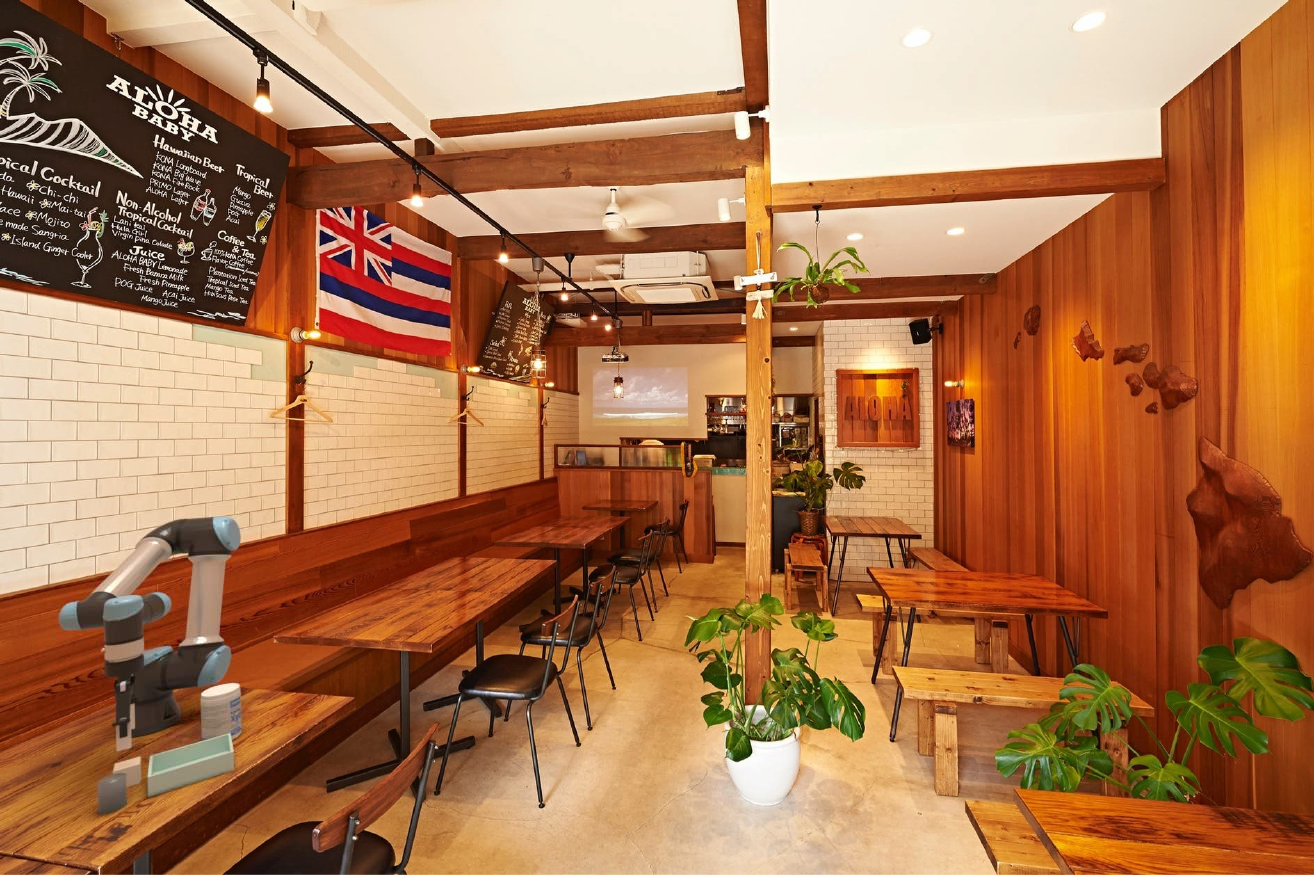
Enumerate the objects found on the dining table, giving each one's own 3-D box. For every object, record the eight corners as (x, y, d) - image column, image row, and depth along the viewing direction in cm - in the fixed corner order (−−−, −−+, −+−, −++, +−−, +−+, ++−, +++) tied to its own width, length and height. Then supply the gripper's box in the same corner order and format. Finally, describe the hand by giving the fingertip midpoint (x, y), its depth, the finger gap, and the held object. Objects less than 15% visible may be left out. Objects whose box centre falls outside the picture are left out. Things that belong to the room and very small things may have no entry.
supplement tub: (240, 740, 168) (239, 690, 168) (199, 751, 163) (198, 699, 163) (242, 727, 176) (241, 679, 176) (203, 737, 171) (202, 688, 171)
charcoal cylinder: (99, 807, 138) (98, 778, 138) (127, 798, 141) (126, 770, 141) (97, 817, 134) (96, 787, 134) (126, 808, 137) (125, 779, 137)
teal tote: (150, 774, 151) (150, 756, 151) (231, 750, 162) (230, 733, 162) (148, 797, 141) (147, 777, 141) (234, 770, 152) (233, 751, 152)
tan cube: (115, 782, 148) (114, 763, 148) (141, 775, 152) (140, 756, 152) (113, 791, 145) (113, 771, 145) (140, 783, 148) (139, 764, 148)
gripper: (109, 648, 155) (110, 727, 155) (98, 675, 136) (100, 764, 136) (146, 642, 160) (147, 717, 160) (141, 666, 141) (142, 752, 141)
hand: (126, 739), depth 148 cm, fingers open, 13 cm apart
